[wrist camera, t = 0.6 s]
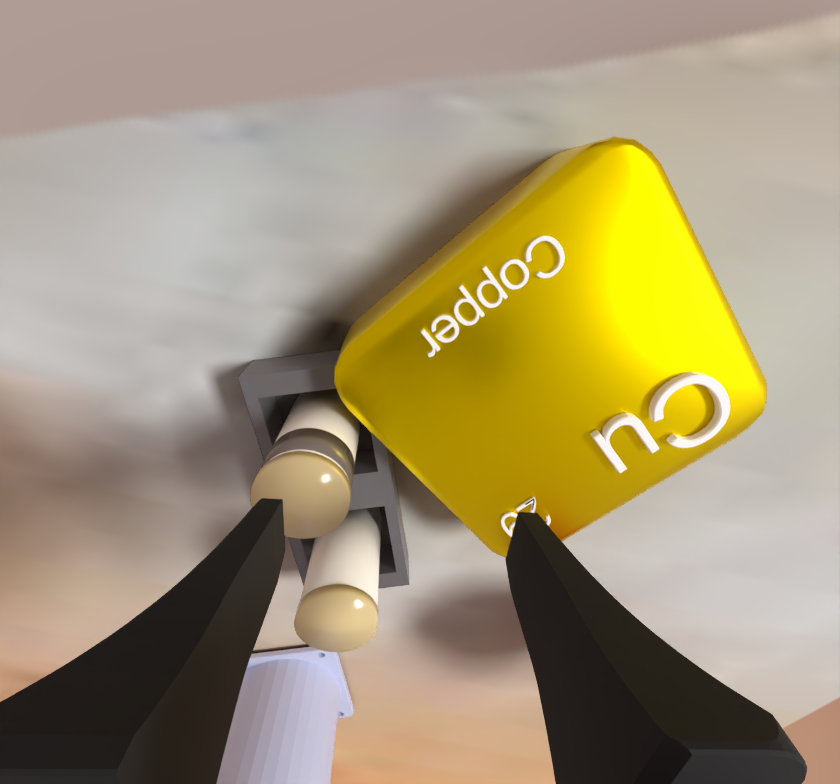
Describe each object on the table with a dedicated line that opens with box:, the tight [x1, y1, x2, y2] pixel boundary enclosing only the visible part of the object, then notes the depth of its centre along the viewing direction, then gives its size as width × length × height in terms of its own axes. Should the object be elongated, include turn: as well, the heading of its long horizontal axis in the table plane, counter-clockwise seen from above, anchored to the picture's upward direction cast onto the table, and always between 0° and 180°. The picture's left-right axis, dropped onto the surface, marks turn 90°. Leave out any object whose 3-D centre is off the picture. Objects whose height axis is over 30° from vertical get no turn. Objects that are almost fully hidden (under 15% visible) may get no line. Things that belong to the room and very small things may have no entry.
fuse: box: [294, 507, 381, 652], centre depth 22 cm, size 4×4×7 cm
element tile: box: [334, 137, 767, 557], centre depth 20 cm, size 15×15×5 cm
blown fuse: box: [250, 389, 361, 539], centre depth 19 cm, size 4×4×7 cm
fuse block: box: [238, 350, 409, 588], centre depth 23 cm, size 6×14×2 cm, turn 6°
